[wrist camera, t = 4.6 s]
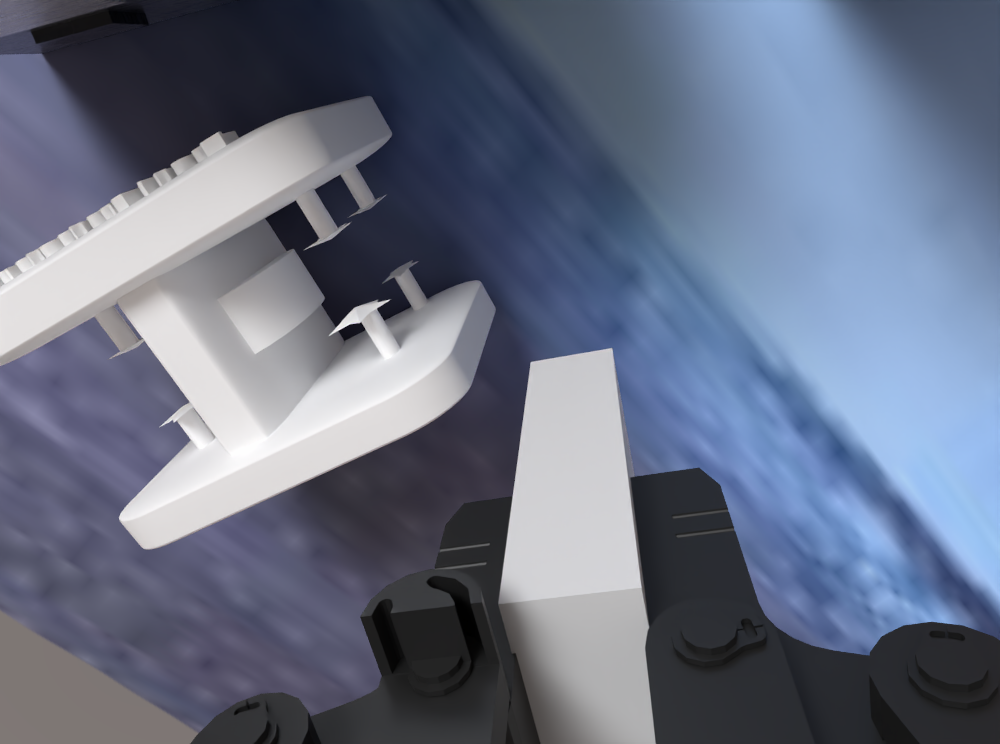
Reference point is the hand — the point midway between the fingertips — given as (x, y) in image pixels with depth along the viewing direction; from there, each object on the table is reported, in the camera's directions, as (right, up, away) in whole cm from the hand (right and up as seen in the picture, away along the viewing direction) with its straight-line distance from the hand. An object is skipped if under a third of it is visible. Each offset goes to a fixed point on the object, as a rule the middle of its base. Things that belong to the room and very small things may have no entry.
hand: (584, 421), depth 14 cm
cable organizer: (-10, +6, +20) cm, 23 cm away
